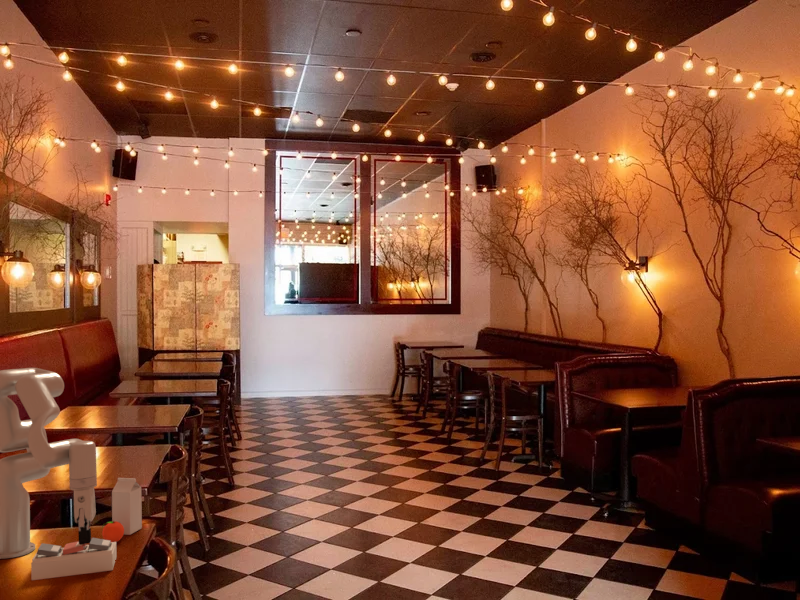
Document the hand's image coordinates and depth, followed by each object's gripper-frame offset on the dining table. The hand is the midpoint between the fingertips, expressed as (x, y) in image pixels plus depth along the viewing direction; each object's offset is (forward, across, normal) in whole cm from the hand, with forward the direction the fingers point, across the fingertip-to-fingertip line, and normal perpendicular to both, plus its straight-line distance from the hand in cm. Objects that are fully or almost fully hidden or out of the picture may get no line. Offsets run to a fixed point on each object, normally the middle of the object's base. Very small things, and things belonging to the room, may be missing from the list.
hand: (85, 542), depth 202 cm
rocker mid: (+1, 0, +3) cm, 3 cm away
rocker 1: (+1, 0, +10) cm, 10 cm away
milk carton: (+8, +34, -9) cm, 36 cm away
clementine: (+8, +24, -5) cm, 25 cm away
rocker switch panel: (+8, +2, +3) cm, 9 cm away
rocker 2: (+1, 0, -4) cm, 4 cm away
